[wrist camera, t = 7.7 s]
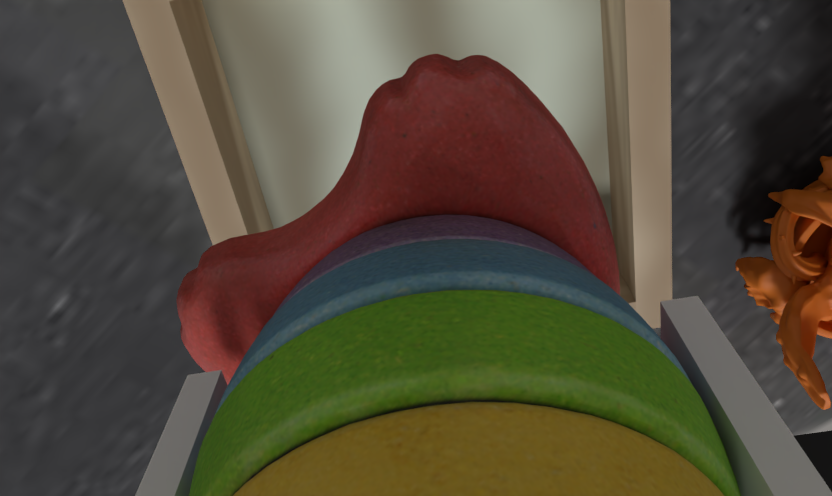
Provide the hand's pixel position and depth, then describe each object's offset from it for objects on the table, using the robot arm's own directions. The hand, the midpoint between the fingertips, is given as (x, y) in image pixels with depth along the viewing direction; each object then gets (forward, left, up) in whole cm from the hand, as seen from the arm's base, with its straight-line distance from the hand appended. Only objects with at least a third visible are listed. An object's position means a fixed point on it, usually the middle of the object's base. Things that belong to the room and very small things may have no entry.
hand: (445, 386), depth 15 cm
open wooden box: (0, 0, -17) cm, 17 cm away
